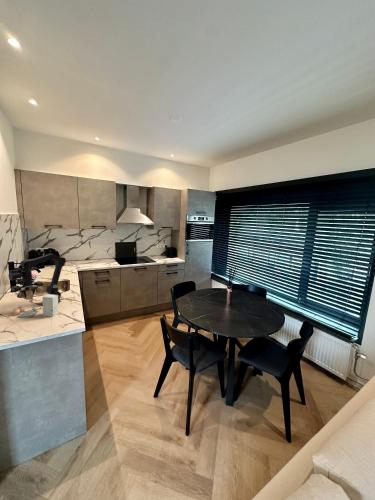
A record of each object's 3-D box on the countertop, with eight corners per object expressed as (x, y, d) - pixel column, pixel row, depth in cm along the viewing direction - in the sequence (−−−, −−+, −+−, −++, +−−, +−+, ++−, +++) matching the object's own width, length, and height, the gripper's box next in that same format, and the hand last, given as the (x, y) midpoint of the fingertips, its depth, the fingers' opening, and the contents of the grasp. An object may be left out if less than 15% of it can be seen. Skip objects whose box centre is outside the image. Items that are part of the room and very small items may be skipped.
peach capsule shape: (21, 313, 155) (21, 308, 155) (17, 315, 151) (17, 310, 151) (15, 313, 155) (15, 308, 154) (11, 316, 151) (11, 310, 150)
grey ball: (38, 309, 162) (37, 306, 161) (35, 311, 159) (35, 307, 158) (33, 310, 161) (33, 306, 161) (31, 311, 158) (31, 308, 158)
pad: (38, 311, 159) (38, 310, 158) (30, 317, 150) (30, 316, 150) (25, 312, 157) (25, 311, 157) (17, 317, 149) (17, 316, 149)
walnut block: (30, 297, 161) (29, 289, 160) (32, 298, 159) (32, 290, 158) (24, 298, 157) (23, 291, 156) (26, 299, 155) (26, 292, 154)
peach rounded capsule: (25, 310, 160) (25, 305, 160) (22, 312, 156) (22, 307, 156) (20, 310, 160) (19, 305, 159) (16, 313, 156) (16, 307, 155)
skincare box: (42, 316, 152) (41, 296, 150) (48, 312, 158) (47, 293, 156) (53, 317, 151) (52, 297, 149) (59, 313, 157) (58, 294, 155)
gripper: (35, 273, 168) (36, 291, 170) (6, 278, 151) (8, 298, 154) (42, 275, 162) (44, 294, 164) (13, 280, 146) (15, 301, 148)
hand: (28, 297), depth 158 cm, fingers closed on walnut block, 4 cm apart
